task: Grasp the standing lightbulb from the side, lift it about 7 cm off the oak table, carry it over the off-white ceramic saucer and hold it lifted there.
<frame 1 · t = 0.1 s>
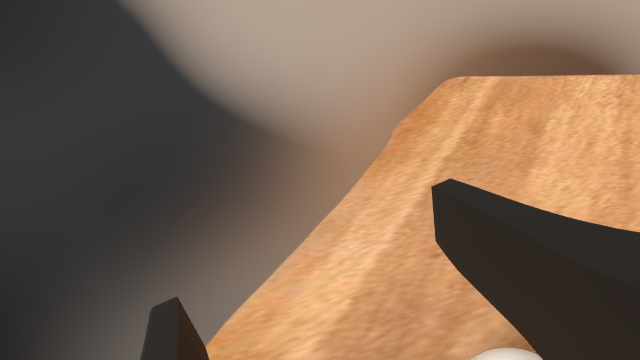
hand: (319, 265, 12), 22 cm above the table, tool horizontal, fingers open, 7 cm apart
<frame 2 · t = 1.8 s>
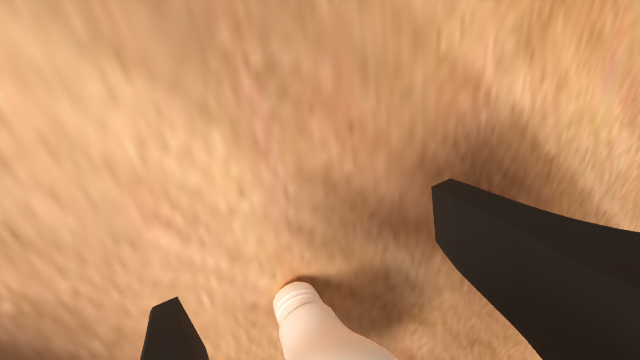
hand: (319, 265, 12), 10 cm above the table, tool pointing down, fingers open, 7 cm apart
lightbulb: (288, 287, 27), on the table
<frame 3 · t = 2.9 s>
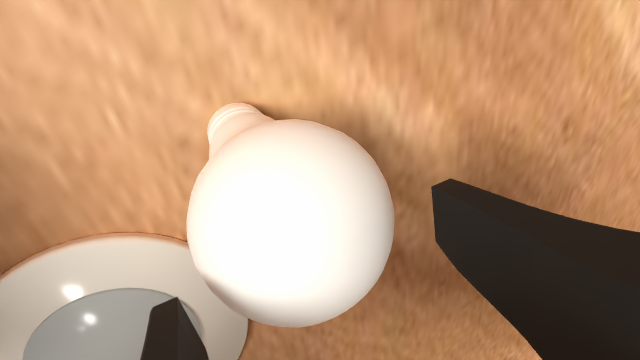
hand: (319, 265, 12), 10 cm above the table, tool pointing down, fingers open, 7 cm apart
saucer: (117, 340, 24), on the table
lightbulb: (231, 121, 21), on the table
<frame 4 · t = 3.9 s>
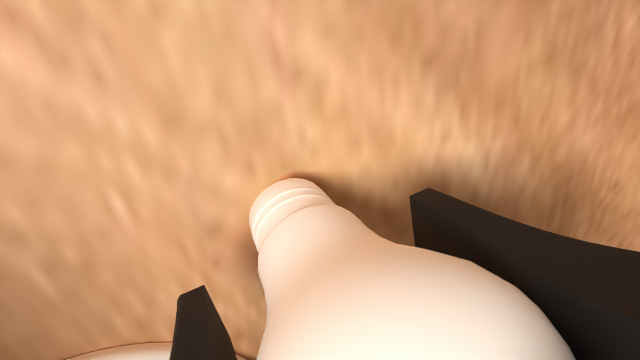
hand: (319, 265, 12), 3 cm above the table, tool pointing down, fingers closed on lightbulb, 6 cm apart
lightbulb: (278, 197, 15), on the table, touching gripper
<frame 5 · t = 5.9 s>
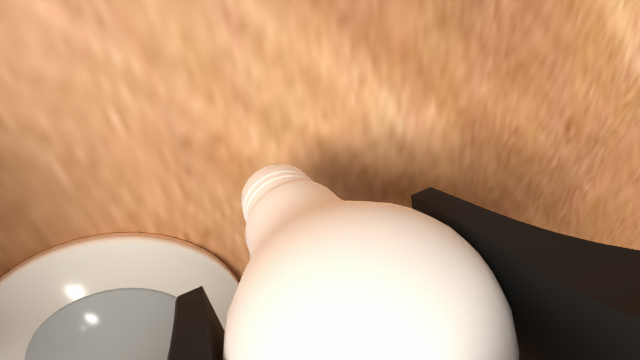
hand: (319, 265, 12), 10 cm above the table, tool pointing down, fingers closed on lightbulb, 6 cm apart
saucer: (119, 340, 24), on the table
lightbulb: (269, 184, 17), point 5 cm above the table, touching gripper
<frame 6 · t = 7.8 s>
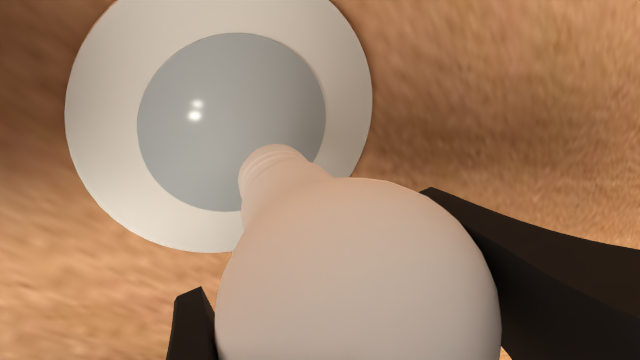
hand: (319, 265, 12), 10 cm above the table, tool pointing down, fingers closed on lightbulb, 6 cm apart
saucer: (232, 121, 21), on the table
lightbulb: (266, 165, 17), point 4 cm above the table, touching gripper
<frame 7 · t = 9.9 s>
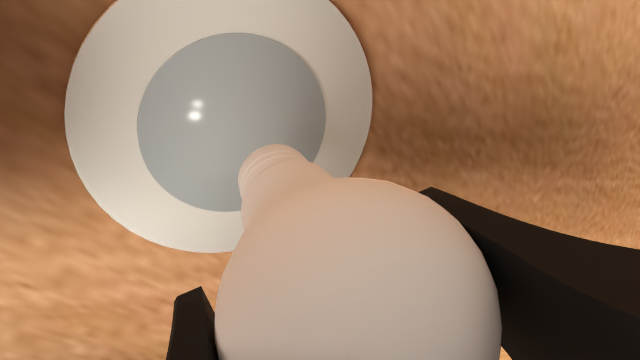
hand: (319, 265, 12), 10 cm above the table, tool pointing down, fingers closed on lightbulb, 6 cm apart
saucer: (232, 121, 21), on the table
lightbulb: (266, 165, 17), point 4 cm above the table, touching gripper
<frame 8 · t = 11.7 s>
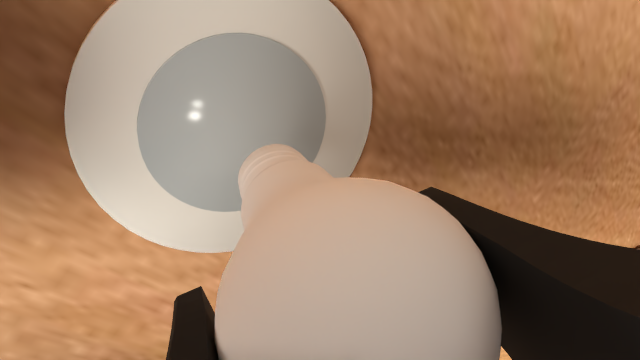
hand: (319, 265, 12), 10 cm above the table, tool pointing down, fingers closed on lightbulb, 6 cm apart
saucer: (232, 121, 21), on the table
lightbulb: (266, 165, 17), point 4 cm above the table, touching gripper
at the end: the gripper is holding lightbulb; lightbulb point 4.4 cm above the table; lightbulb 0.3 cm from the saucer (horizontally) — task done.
